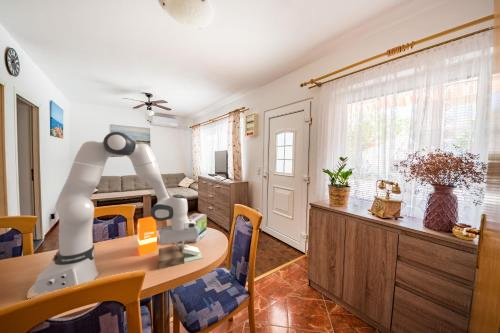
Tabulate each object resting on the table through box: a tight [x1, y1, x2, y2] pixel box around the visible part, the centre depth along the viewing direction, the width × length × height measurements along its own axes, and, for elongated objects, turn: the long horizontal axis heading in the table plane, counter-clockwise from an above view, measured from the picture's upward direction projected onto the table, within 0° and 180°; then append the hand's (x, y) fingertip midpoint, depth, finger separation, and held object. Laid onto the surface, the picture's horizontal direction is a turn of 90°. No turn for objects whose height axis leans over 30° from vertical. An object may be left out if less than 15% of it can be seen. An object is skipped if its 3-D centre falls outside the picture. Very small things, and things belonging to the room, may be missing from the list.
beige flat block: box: [182, 243, 200, 256], centre depth 108 cm, size 9×6×2 cm, turn 117°
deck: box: [158, 245, 185, 270], centre depth 103 cm, size 12×14×4 cm
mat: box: [184, 247, 204, 263], centre depth 108 cm, size 10×12×1 cm
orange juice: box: [136, 216, 158, 256], centre depth 112 cm, size 8×9×20 cm
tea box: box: [185, 212, 208, 244], centre depth 130 cm, size 15×10×15 cm, turn 168°
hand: (179, 248), depth 105 cm, fingers closed
